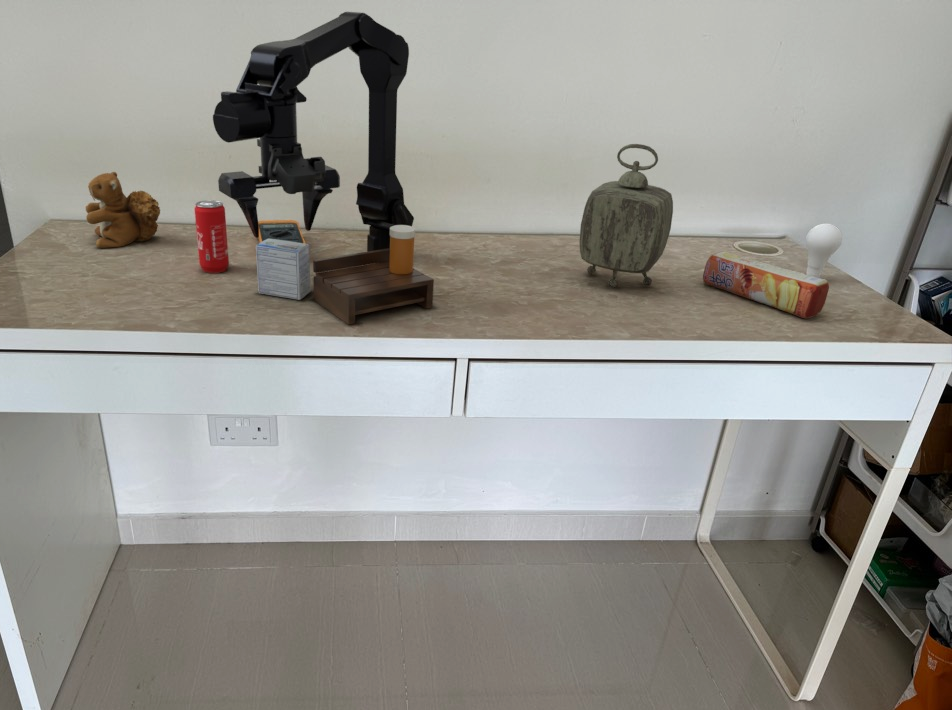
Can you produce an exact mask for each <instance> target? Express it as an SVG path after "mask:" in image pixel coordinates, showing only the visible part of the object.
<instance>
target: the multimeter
mask: <svg viewBox="0 0 952 710" xmlns="http://www.w3.org/2000/svg"><path fill="white" fill-rule="evenodd" d="M258 225H259V238H258V241H259V243H261V242H262V241H264V240H266V239H277V240H284V241H291V242H297V243H304V244H307V242H306V240H305V237H304V235H303V234H302V233H303V232H302V231H301V227H300V224H299V222H298V221H297V220H294V219H284V220H283V219H281V220H280V219H277V220H274V219H273V220H258Z"/></svg>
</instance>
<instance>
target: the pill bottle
mask: <svg viewBox="0 0 952 710" xmlns="http://www.w3.org/2000/svg"><path fill="white" fill-rule="evenodd" d="M415 237H416V228H415V227H414V226H413V225H412V226H407V225H395V226H392V227H390V259H389V271H390V272H392V273H395V274H409V273H412V272H413V268H414V258H415V257H414V256H415Z"/></svg>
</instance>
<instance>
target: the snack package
mask: <svg viewBox="0 0 952 710" xmlns="http://www.w3.org/2000/svg"><path fill="white" fill-rule="evenodd" d="M702 280H703V282H704V284H705V285H708V286H710V287H714V288H718V289H720V290H723V291H726V292H729V293H732V294H734V295H737V296H740V297H743V298H745V299H749V300H751V301H755V302H757V303H760V304H763V305H767V306H769V307H771V308H774V309H777V310H780V311H783V312H786V313H789V314H790V315H791V314H792V315H794V316H796V317H799V318H801V319H810V318H813V317H815V316H817V315H818V314H819V313H821V312H822V310H823V309H824V306H825V304H826V300H827V297H828V294H829V291H830V290H829V289H830V284H829V283H830V282H829V281H828V280H827V279H825V278H821V277H819V278H816V277H813V276H809V275H806V273H802V272H798V271H794V270H790V269H787V268H783V267H781V266H780V267H779V266H776V265H773V264H770V263H765V262H761V261H758V260H754V259H752V258H748V257H745V256H740V255H735V254H733V253H729V252H727V251H724V250H723V251H718V252H716V253H713V254H711V255H710V256H709V258H708V259H707V261H706V263H705V267H704V270H703V274H702Z"/></svg>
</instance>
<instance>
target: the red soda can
mask: <svg viewBox="0 0 952 710" xmlns="http://www.w3.org/2000/svg"><path fill="white" fill-rule="evenodd" d="M194 217H195V230H196V231H195V232H196V240H197V251H198V261H199V262H198V263H199V266H200V268H201V269H202V270H201V271H202V272H204V273H208V274H220V273H224V272H226V271H227V270H228V267H229V263H230V262H229V260H230V258H229V246H228V234H227V233H228V232H227V221H226V208H225V206H224V203H223V202H222V201H220V200H212V199H210V200H209V199H207V200H200V201H197V202H195V207H194Z"/></svg>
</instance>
